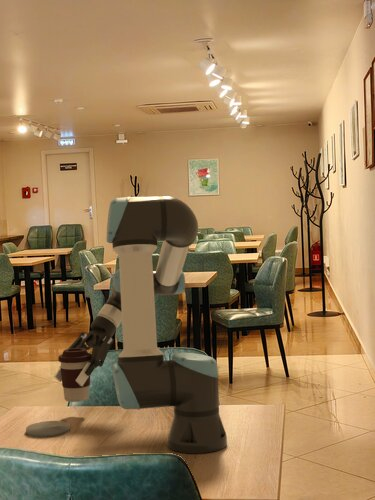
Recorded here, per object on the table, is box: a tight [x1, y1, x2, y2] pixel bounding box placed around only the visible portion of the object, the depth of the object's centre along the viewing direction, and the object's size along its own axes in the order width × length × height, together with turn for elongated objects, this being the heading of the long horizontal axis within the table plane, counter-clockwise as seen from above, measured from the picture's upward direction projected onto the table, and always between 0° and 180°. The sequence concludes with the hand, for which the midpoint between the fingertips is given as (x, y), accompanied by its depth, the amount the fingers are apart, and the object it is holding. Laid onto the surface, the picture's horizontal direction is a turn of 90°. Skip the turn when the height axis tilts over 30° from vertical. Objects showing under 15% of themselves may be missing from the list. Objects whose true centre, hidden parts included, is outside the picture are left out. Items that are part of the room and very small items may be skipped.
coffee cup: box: [58, 348, 92, 403], centre depth 219 cm, size 10×10×15 cm
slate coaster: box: [25, 420, 71, 439], centre depth 204 cm, size 12×12×1 cm
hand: (67, 381), depth 217 cm, fingers closed on coffee cup, 10 cm apart
